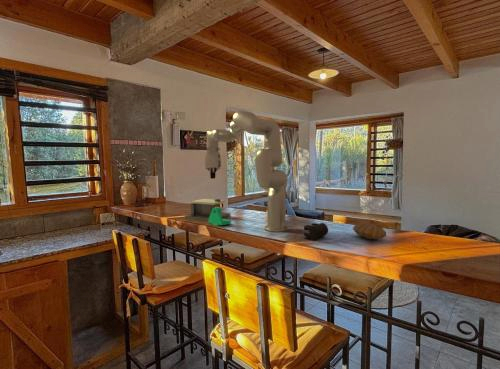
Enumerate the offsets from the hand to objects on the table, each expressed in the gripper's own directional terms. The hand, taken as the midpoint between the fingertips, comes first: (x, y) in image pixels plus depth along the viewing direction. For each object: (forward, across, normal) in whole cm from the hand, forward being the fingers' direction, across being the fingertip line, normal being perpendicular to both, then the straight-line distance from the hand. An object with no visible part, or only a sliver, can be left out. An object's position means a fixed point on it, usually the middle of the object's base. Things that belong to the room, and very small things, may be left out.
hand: (212, 178), depth 183 cm
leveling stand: (+26, +2, +3) cm, 26 cm away
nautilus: (+25, -96, +14) cm, 100 cm away
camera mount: (+26, -15, +17) cm, 35 cm away
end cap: (+25, -73, +26) cm, 81 cm away
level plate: (+16, +2, +3) cm, 16 cm away
